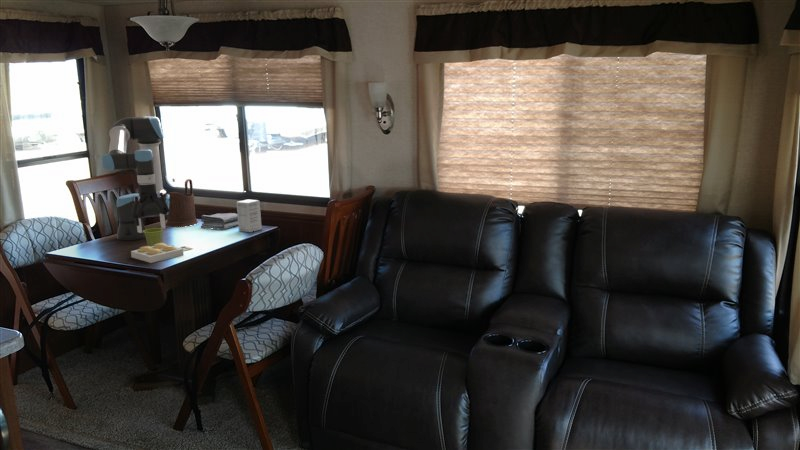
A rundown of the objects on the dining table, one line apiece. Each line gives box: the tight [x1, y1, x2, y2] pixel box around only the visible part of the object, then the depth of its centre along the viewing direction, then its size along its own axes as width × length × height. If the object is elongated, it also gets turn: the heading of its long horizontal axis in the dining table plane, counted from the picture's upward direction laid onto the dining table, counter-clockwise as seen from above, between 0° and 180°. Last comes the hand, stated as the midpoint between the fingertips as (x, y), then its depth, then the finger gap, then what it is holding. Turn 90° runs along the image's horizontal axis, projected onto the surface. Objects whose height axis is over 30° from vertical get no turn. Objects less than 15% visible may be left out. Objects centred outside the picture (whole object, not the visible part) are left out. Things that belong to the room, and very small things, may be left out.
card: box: [178, 246, 194, 252], centre depth 301 cm, size 7×7×1 cm
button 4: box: [163, 244, 175, 252], centre depth 289 cm, size 5×5×3 cm
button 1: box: [139, 245, 151, 253], centre depth 288 cm, size 5×5×3 cm
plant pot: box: [143, 227, 164, 247], centre depth 306 cm, size 9×9×9 cm
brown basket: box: [165, 178, 199, 228], centre depth 359 cm, size 18×24×25 cm
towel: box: [200, 212, 238, 230], centre depth 350 cm, size 15×18×8 cm
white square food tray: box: [130, 243, 184, 264], centre depth 289 cm, size 17×17×3 cm
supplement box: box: [236, 198, 263, 233], centre depth 339 cm, size 10×9×17 cm
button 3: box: [154, 242, 166, 249], centre depth 294 cm, size 5×5×3 cm
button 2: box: [148, 248, 160, 255], centre depth 284 cm, size 5×5×3 cm
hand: (151, 229), depth 281 cm, fingers open, 11 cm apart
